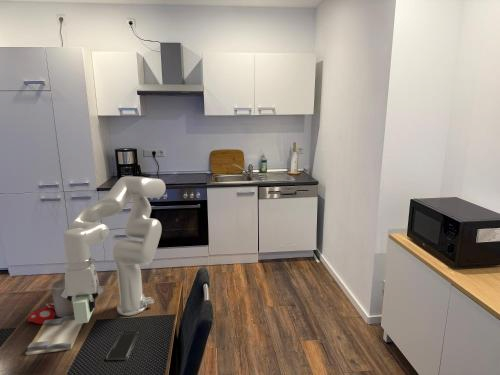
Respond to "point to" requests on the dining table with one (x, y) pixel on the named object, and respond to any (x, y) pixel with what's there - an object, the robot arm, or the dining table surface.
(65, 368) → the dining table surface
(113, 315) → the dining table surface
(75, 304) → the sage panel block
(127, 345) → the phone
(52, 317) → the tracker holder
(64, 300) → the pillar candle
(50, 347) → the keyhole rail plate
